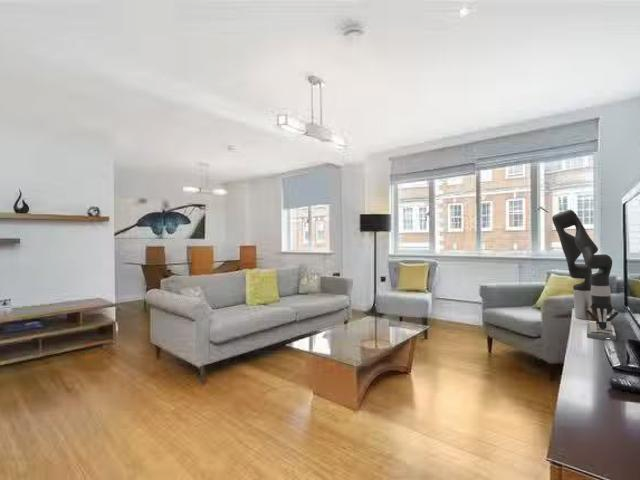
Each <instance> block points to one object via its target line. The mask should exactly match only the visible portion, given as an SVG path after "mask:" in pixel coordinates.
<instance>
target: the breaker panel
mask: <svg viewBox="0 0 640 480" xmlns="http://www.w3.org/2000/svg"><path fill="white" fill-rule="evenodd" d="M596 328H597V332H590V322H587V324H586V338H590V339H600V340H607V339H606V338H610V339H612V340H611V341H617V334H616V330H615V327H614V325H612V324H611V330H603V329H601V328H600V327H599V324H596Z"/></svg>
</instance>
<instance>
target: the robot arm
mask: <svg viewBox="0 0 640 480" xmlns="http://www.w3.org/2000/svg"><path fill="white" fill-rule="evenodd" d="M551 217H552V218H551V220H552V223H553V226H554V229H555V230H556V233H557V234H558V238H559V241H560V245H561V248H562V249H561V250H562V251H563V253H564V256H565V260H566V265H567V268H568V274H569V275H570V277H571V278H572V279H578V280H579V279H580V280H584V281H582V282H580V283H576V284H574V285H573V286H572V287H573V290H572V291H573V305H574V317H575V318H576V319H582V320H590V316H591V317H592V318H593V319H594V320H597V321H599V327H600V328H601V329H603V330H605V329H606V328H607V326H606V322H608V321H611V322H612V321H613V319H614V318H615V317H616V316H617V315H618V314H619V311H618V310H617V309H616V310H615V309H614V307H613V306H612V296H611V294H612V292H611V288H610V275H611V272H612V271H611V270H612V269H613V268H612V267H613V259H612V258H611V256H610V255H608V254H597V253H598V252H599V248H598V246H597V244H595V242H594V241H593V240H592V238H591V237H590V236H589V234H588V232H587V230H586V228H585V227H584V225H583V223H582V222H581V219H580V218H579V217H578V215H577V214H576V212H575V211H574V210H573V209H567V210H564V211H561V212H559V213H556V214H554V215H552V216H551ZM573 226H574V227H575V236H574V235H572V234H570V233H568V232H567V231H566V230H565V229H568V228H571V227H573ZM581 255H582V258H583V261H584V263H576V261H577V260H578V259H579V257H580V256H581ZM593 270H598V271H597V272H595V273H593ZM590 306H591V308H590ZM592 310H593V311H594V312H595V313H596V314H598V318H597V317H596V316H595V315H594V314H593V313H592ZM610 313H611V314H610ZM609 314H610V317H609V318H607V316H609ZM601 315H603V322H602V318H601Z"/></svg>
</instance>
